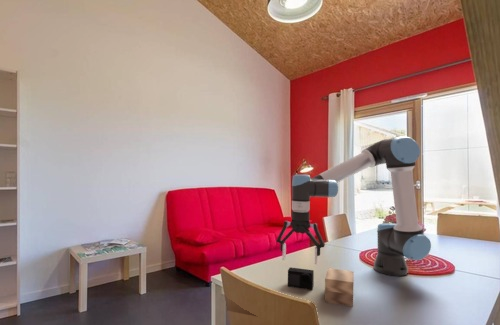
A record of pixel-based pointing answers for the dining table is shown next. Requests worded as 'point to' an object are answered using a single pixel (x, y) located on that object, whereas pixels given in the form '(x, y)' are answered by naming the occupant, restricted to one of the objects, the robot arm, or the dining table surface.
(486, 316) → the dining table surface
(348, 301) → the tower base
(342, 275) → the tower top
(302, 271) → the digital camera
